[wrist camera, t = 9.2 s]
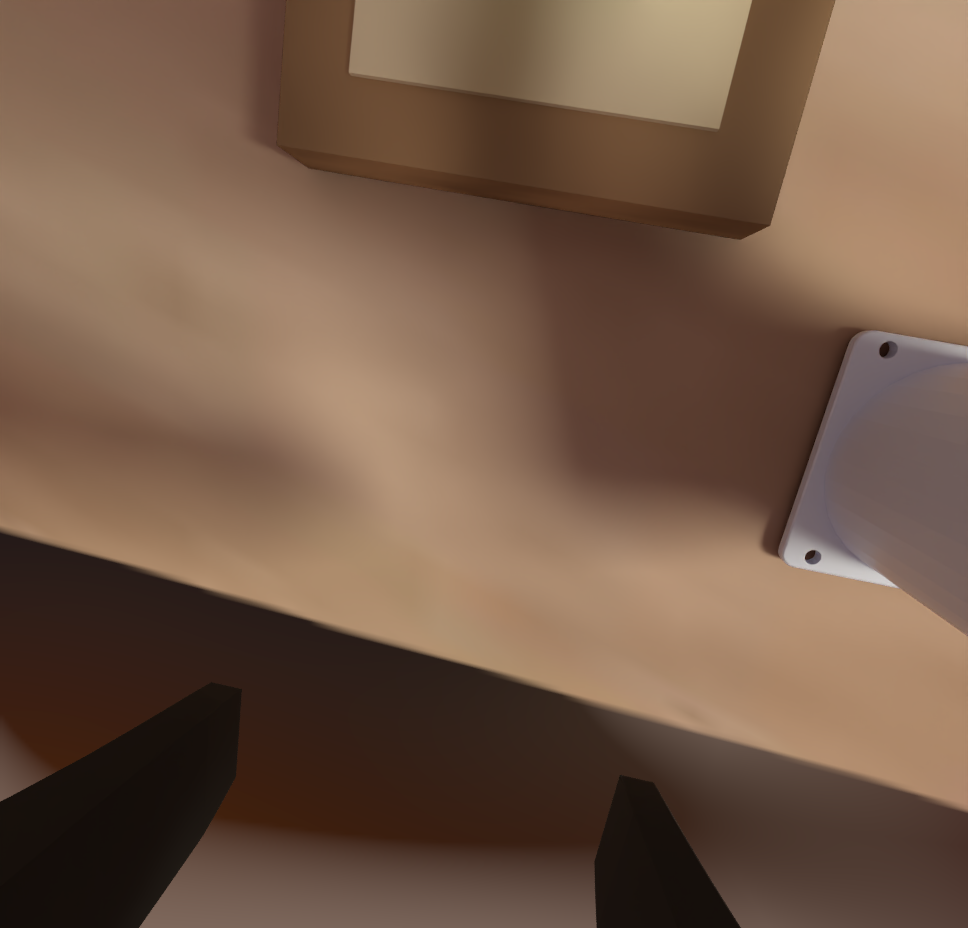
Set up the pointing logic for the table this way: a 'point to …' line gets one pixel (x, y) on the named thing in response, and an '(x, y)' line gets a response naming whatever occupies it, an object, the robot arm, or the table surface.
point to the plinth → (559, 101)
